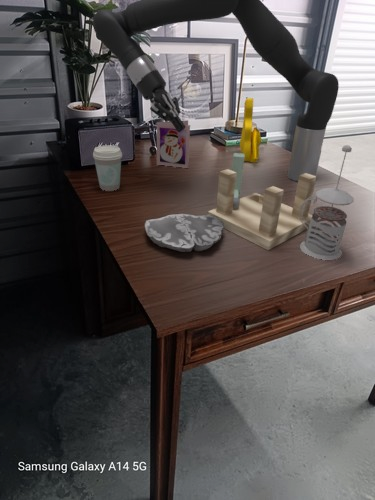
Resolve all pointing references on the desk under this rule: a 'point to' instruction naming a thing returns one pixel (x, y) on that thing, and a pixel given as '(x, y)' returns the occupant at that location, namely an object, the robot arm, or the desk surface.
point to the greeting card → (172, 145)
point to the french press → (322, 242)
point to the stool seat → (263, 211)
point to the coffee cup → (108, 166)
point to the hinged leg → (237, 176)
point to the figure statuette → (249, 135)
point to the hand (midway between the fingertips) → (182, 130)
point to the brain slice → (185, 231)
